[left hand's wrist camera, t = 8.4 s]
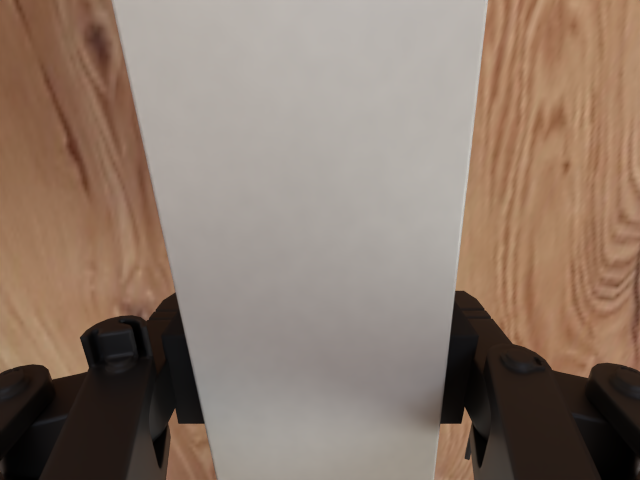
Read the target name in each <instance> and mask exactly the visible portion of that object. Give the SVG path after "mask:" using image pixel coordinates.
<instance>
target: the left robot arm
mask: <svg viewBox="0 0 640 480" xmlns="http://www.w3.org/2000/svg"><path fill="white" fill-rule="evenodd" d="M80 339H81V342H82V346H83V349H84V352H85V355H86V359H87V362H88V365H89V370H88V372H85V373H81V374H77V375H72V376H67V377H63V378H58V379H53V380H52V378H51V376H50V373H49V370H48V369H47V368H45V367H44V366H43V365H34V364H32V365H26V366H19V367H16V368H13V369H9V370H6V371H4V372H2V373H0V471H1V472H0V480H166V474H167V465H168V456H169V447H170V439H171V436H170V429H169V425H168V422H169V420H170V417H171V415H172V413H173V411H174V409H176V414H177V419H178V424H205V423H204V418H203V414H202V409H201V405H200V400H199V396H198V391H197V387H196V382H195V378H194V373H193V368H192V364H191V359H190V355H189V350H188V346H187V341H186V337H185V332H184V328H183V323H182V318H181V314H180V309H179V305H178V300H177V296H176V292H175V293H174V294H172V295H171V296H169V297H168V298H166V299H165V300H163V301H162V303H161V304H160V305H159V306H158V308H157V309H156V312H154V313H153V314H152V315H151V316H150V318H149V320H147V321H145V320H144V319H142V318H141V317H137V316H132V315H130V316H119V317H114V318H110V319H107V320H105V321H102V322H100V323H97V324H95V325H94V326H92V327H91V328H89V329H88V330H86V331H85V333H84V334H83V335H82V336H81V337H80ZM464 407H465V408H466V410H467V412H468V414H469V416H470V418H471V420H472V425H471V429H470V434H469V438H468V443H467V448H466V453H465V459H468V460H469V459H470V455H472V464H473V473H474V480H640V372H639V371H638V370H636V369H633V368H630V367H627V366H623V365H619V364H612V363H601V364H597V365H595V366H594V367H593V368H592V369H591V372H590V375H589V377H588V378H585V377H580V376H575V375H571V374H566V373H561V372H557V371H553V370H552V369H551V367H550V366H549V364H548V363H547V362H546V360H545V359H543V358H542V357H541V356H539V355H538V354H537V353H535V352H533V351H531V350H529V349H527V348H525V347H522V346H518V345H514V344H512V343H511V341H510V340H509V339H508V338H507V336H506V335H505V334H504V333H503V331H502V330H501V329H500V328H499V326H498V325H497V324H496V323H495V321H494V320H493V319H491V316H490V315H489V314H488V313H487V311H484V308H483V306H482V305H481V304H480V303H479V302H478V300H477V299H476V298H474V297H472V296H471V295H469V294H468V293H466V292H465V291H455V296H454V305H453V314H452V323H451V332H450V341H449V349H448V358H447V367H446V376H445V385H444V394H443V403H442V412H441V420H440V424H461V422H462V417H463V412H464Z"/></svg>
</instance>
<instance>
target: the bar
mask: <svg viewBox="0 0 640 480" xmlns="http://www.w3.org/2000/svg"><path fill="white" fill-rule="evenodd" d="M487 3H488V0H112V5H113V10H114V14H115V19H116V23H117V28H118V32H119V37H120V41H121V46H122V50H123V55H124V60H125V64H126V69H127V73H128V78H129V82H130V87H131V91H132V96H133V100H134V105H135V109H136V114H137V119H138V123H139V128H140V132H141V137H142V141H143V146H144V150H145V155H146V159H147V164H148V169H149V173H150V178H151V182H152V187H153V191H154V196H155V200H156V205H157V209H158V214H159V219H160V223H161V228H162V232H163V237H164V241H165V246H166V250H167V255H168V259H169V264H170V269H171V273H172V278H173V282H174V287H175V291H176V296H177V300H178V305H179V309H180V314H181V318H182V323H183V328H184V332H185V337H186V341H187V346H188V350H189V355H190V359H191V364H192V368H193V373H194V378H195V382H196V387H197V391H198V396H199V400H200V405H201V409H202V414H203V418H204V423H205V428H206V432H207V437H208V441H209V446H210V450H211V455H212V459H213V464H214V468H215V473H216V477H217V480H434V474H435V465H436V456H437V447H438V438H439V429H440V420H441V412H442V403H443V394H444V385H445V376H446V367H447V358H448V349H449V341H450V332H451V323H452V314H453V305H454V296H455V287H456V278H457V270H458V261H459V252H460V243H461V234H462V225H463V216H464V207H465V199H466V190H467V181H468V172H469V163H470V154H471V145H472V136H473V128H474V119H475V110H476V101H477V92H478V83H479V74H480V65H481V57H482V48H483V39H484V30H485V21H486V12H487Z"/></svg>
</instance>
